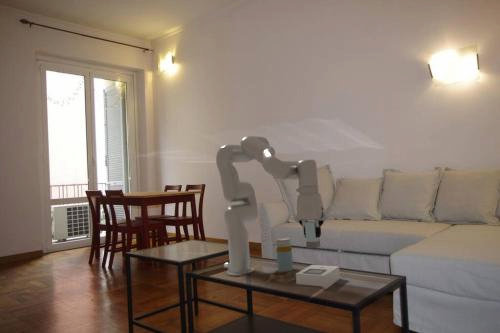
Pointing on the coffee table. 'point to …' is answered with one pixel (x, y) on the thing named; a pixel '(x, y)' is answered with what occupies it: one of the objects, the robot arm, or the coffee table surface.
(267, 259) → the coffee table surface
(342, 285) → the coffee table surface
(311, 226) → the plug
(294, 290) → the coffee table surface
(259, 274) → the coffee table surface
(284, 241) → the bottle
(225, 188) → the robot arm
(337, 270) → the panel
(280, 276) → the square wooden tray
